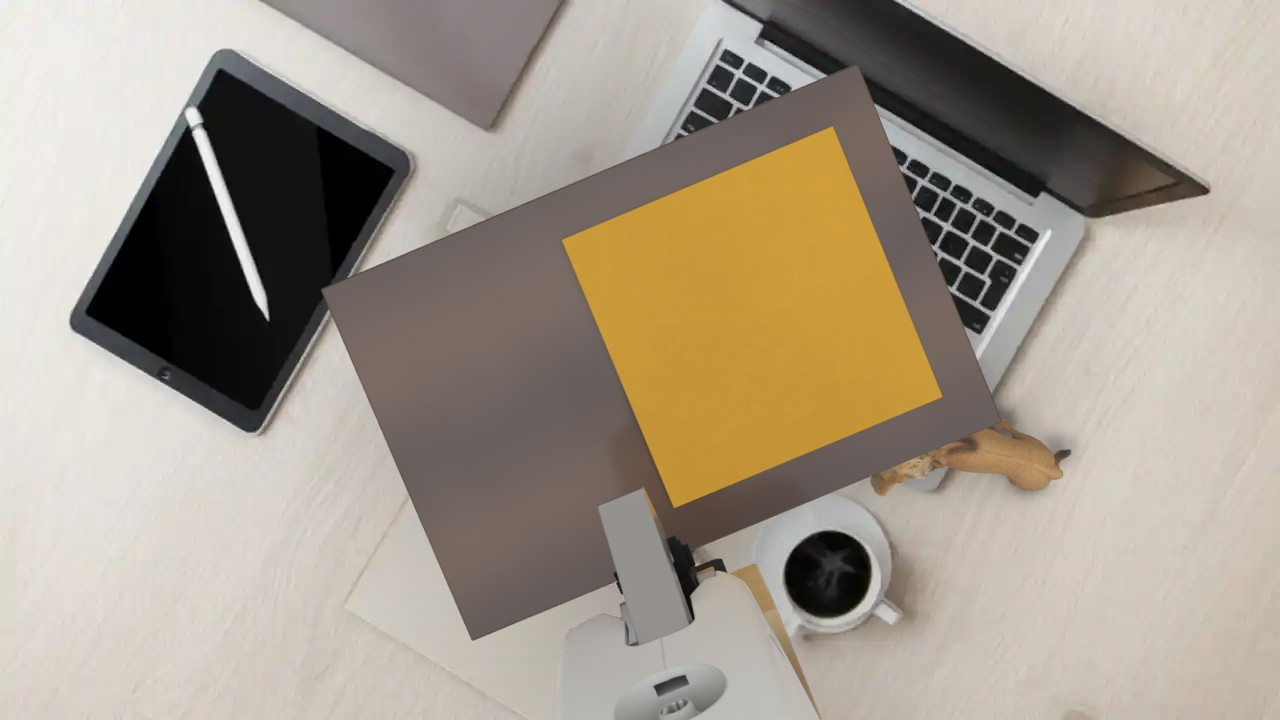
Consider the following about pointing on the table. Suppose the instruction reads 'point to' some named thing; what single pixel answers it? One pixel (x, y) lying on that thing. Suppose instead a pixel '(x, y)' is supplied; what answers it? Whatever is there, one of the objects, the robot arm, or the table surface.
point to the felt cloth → (752, 317)
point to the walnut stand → (606, 370)
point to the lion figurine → (984, 460)
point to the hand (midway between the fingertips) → (711, 670)
